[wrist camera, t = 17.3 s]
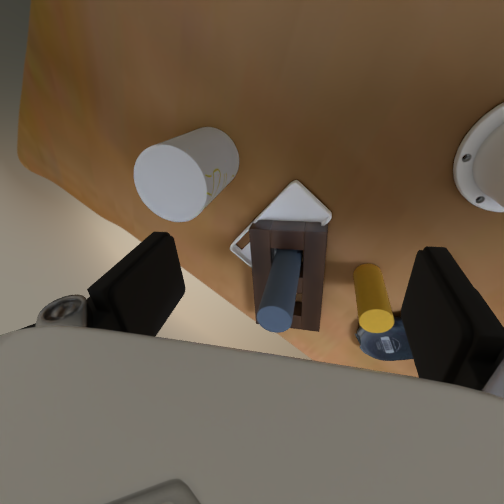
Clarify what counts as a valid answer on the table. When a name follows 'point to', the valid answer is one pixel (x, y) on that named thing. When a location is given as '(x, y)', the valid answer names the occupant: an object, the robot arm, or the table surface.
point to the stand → (311, 272)
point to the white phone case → (287, 213)
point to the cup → (185, 173)
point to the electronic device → (386, 343)
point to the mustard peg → (372, 299)
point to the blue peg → (280, 291)
